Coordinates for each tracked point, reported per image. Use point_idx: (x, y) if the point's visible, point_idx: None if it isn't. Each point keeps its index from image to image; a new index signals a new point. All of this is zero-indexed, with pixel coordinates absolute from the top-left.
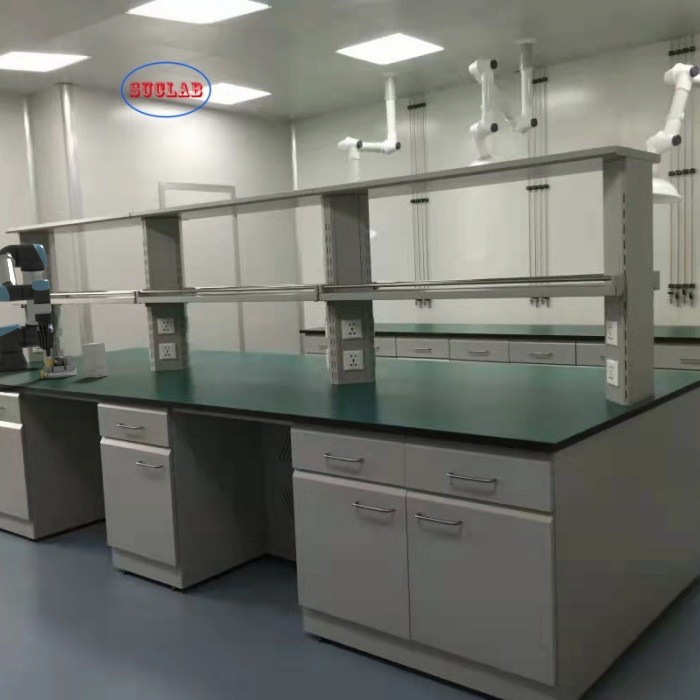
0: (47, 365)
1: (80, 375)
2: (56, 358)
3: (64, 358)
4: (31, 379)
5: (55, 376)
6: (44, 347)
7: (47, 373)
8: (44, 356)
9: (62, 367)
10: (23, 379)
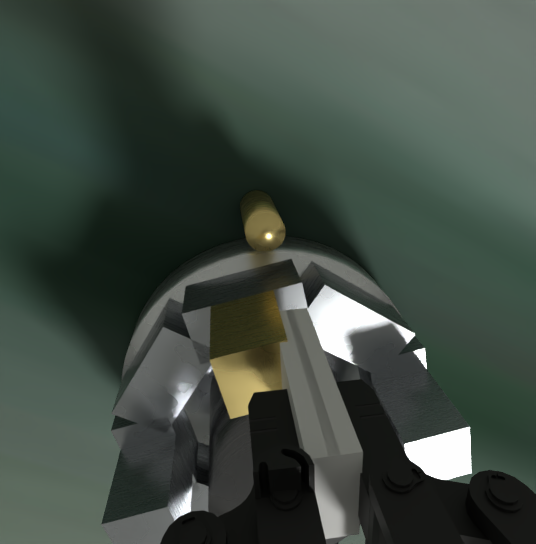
0: (242, 306)
1: (114, 440)
2: (233, 454)
3: (152, 504)
4: (334, 122)
5: (163, 286)
6: (376, 518)
7: (234, 258)
8: (304, 366)
9: (121, 390)
10: (428, 82)
